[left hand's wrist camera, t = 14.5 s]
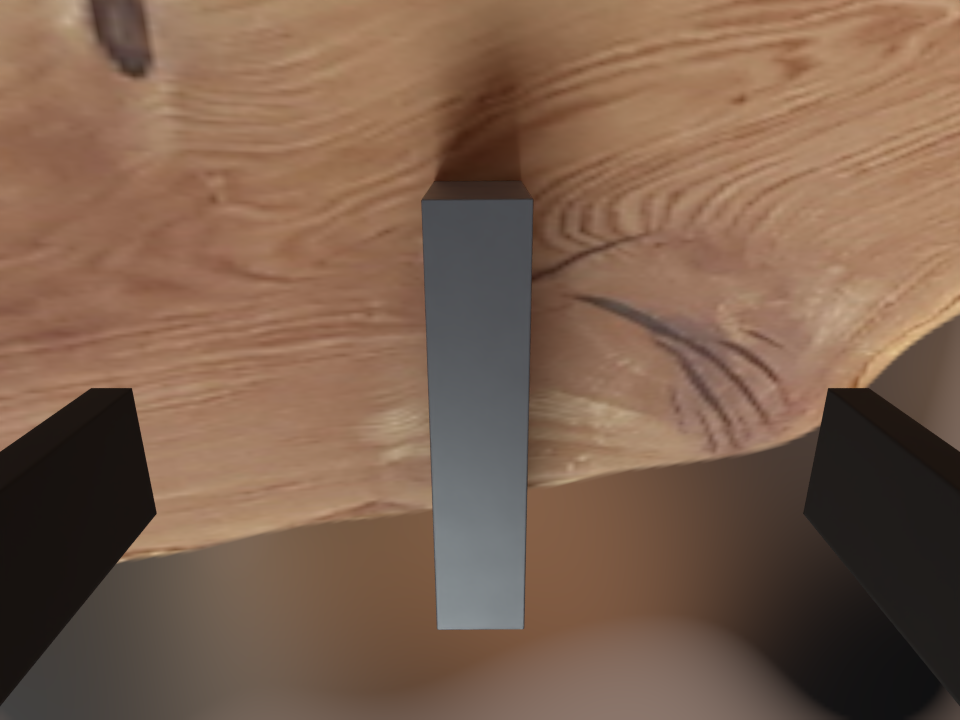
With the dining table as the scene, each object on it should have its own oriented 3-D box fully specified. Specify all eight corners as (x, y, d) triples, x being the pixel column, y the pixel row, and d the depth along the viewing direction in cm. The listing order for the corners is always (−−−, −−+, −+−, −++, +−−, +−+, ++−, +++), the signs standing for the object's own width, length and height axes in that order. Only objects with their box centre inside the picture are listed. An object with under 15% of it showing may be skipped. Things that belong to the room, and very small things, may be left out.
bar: (433, 181, 34) (421, 199, 27) (521, 180, 34) (533, 198, 27) (444, 539, 42) (436, 630, 35) (516, 538, 42) (524, 629, 35)
